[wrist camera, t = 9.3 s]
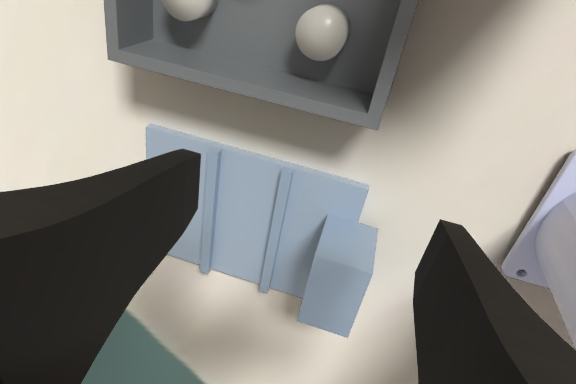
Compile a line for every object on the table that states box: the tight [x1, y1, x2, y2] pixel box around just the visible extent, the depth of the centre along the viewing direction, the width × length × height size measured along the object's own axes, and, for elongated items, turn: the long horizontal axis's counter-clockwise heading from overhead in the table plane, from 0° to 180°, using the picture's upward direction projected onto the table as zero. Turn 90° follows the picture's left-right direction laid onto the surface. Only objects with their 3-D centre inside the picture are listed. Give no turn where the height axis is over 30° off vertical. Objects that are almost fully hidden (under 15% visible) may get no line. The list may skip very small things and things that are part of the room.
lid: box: [146, 124, 378, 338], centre depth 24 cm, size 15×10×5 cm, turn 79°
